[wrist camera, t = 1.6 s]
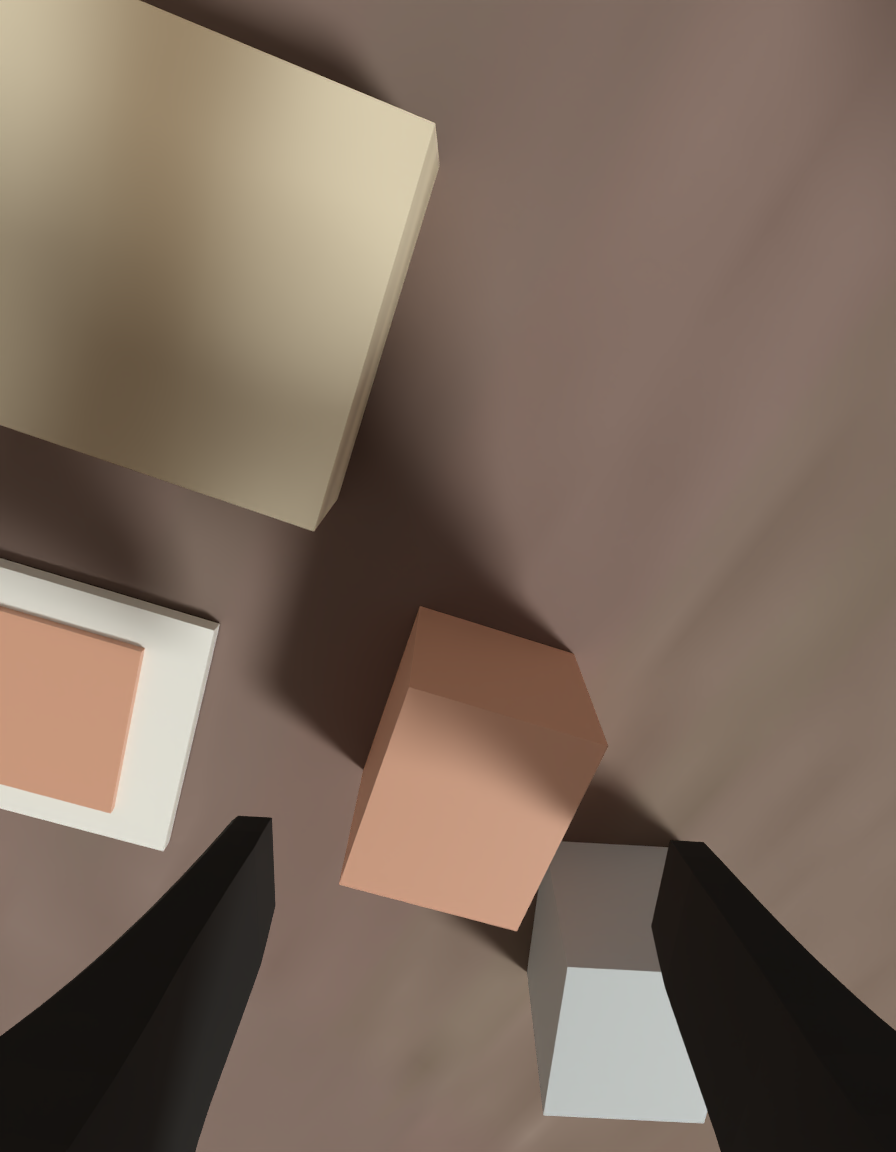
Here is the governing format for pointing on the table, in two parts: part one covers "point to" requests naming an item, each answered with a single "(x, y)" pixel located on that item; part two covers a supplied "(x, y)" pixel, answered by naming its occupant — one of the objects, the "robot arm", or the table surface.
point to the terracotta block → (472, 772)
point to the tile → (96, 704)
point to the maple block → (196, 250)
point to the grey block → (605, 991)
